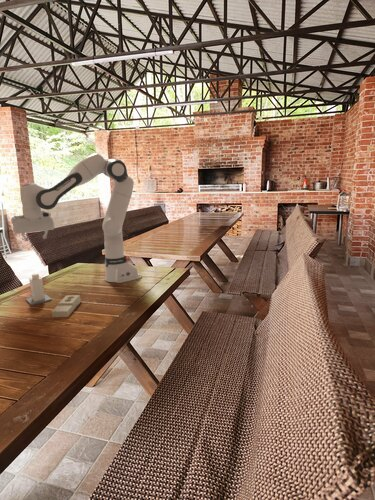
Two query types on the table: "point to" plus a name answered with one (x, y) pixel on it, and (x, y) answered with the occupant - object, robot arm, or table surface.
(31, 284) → the tapered lotion bottle
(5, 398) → the table surface
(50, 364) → the table surface
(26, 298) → the peg stand
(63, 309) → the electrical outlet
